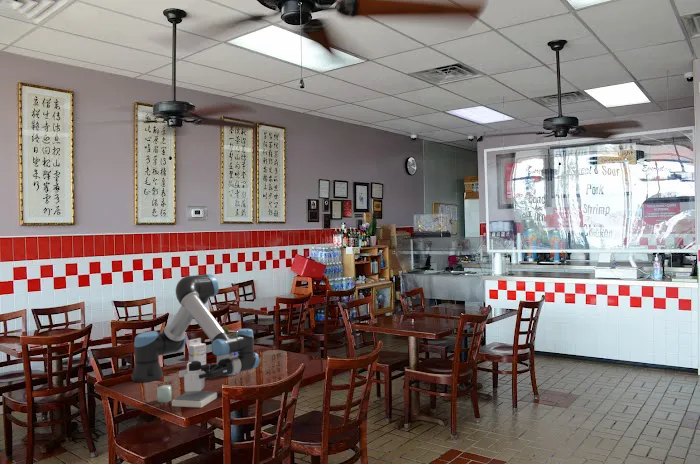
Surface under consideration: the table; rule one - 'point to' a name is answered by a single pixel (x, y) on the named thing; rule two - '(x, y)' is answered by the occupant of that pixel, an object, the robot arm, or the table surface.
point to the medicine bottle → (190, 385)
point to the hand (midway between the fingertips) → (185, 376)
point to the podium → (194, 399)
